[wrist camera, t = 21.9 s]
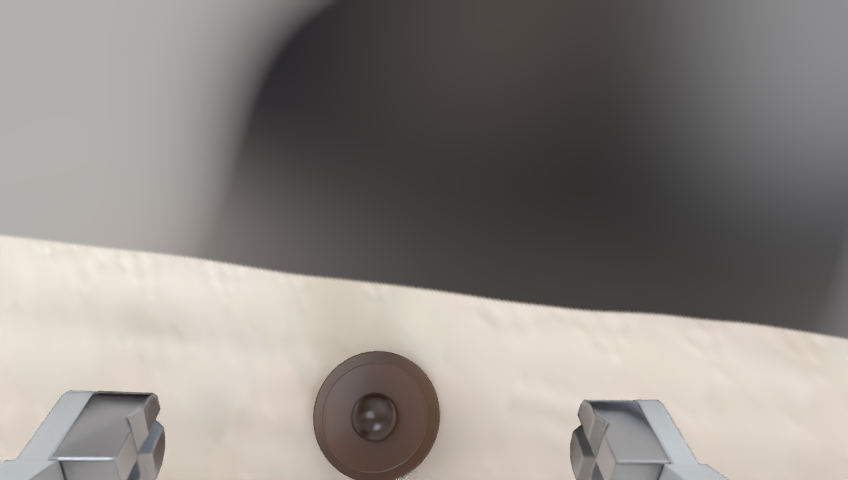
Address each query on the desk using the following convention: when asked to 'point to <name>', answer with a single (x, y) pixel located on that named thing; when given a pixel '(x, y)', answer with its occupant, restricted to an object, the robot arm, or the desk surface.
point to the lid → (376, 416)
